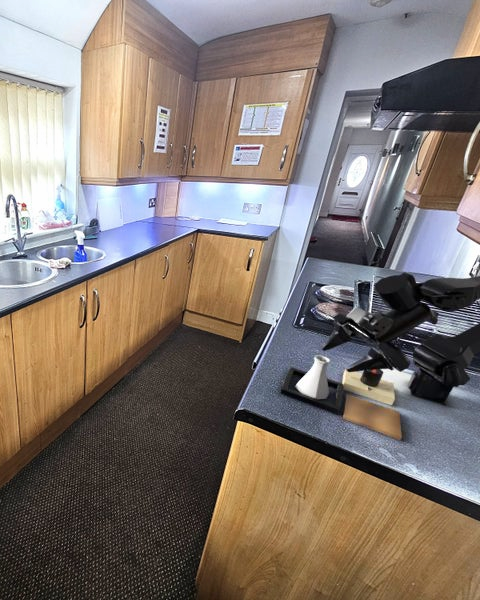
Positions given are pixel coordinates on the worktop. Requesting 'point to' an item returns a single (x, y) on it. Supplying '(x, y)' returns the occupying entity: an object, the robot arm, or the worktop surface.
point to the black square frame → (311, 400)
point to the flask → (315, 379)
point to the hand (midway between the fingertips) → (334, 359)
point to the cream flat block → (369, 388)
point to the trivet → (372, 416)
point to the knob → (371, 377)
